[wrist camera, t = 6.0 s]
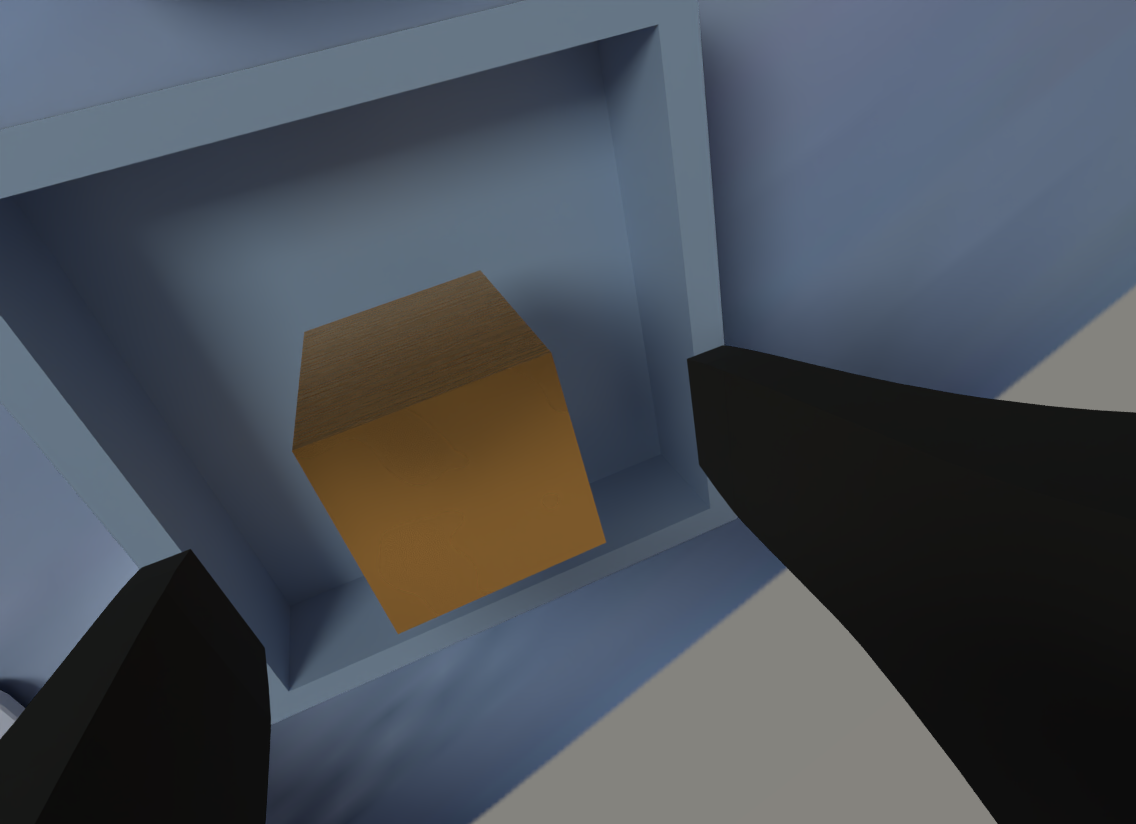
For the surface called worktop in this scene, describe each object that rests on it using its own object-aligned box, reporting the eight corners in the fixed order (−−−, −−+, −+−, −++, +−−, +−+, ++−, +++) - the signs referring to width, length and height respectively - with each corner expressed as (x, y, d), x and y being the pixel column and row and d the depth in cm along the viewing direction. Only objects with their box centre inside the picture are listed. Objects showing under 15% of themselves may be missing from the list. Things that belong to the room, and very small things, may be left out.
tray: (274, 621, 16) (270, 725, 13) (-64, 145, 10) (-189, 175, 7) (678, 455, 18) (737, 518, 16) (612, -21, 12) (694, -43, 9)
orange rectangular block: (370, 422, 14) (397, 634, 8) (308, 293, 12) (292, 450, 7) (501, 372, 14) (606, 542, 9) (456, 242, 13) (551, 352, 7)
